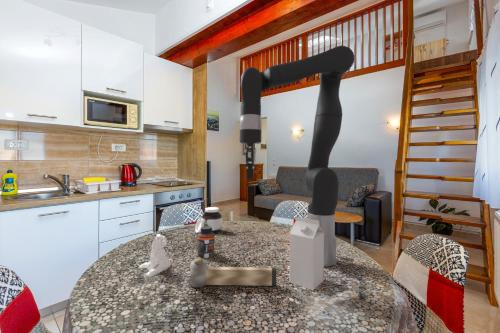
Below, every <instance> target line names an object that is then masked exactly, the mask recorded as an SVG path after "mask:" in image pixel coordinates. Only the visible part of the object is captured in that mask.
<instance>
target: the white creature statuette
mask: <svg viewBox="0 0 500 333" xmlns="http://www.w3.org/2000/svg"><path fill="white" fill-rule="evenodd" d="M167 244H168V240H167V237H166V236H164V235H163V234H159V233H157V234H156V236H155V239H154V240H152V244H151V252H150V253H149V254H150V255H149V257H150V258H149V261H148V262H143V263H142V264H140V265H139V270H142V269H143V270H144V269H146V270H148V272H146V273H145V277H146V278H151V277H155V276H156V275H158V274H160V273H161V272H164V271H167V270H168V268H170V267H171V264H172V263H171V261H170V258H169V257H168V256H167V253H166V250H165V249H164V248H165V247H166V245H167Z"/></svg>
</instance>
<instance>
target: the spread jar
mask: <svg viewBox="0 0 500 333" xmlns="http://www.w3.org/2000/svg"><path fill="white" fill-rule="evenodd" d="M204 210H205V211H204V213H203V214H202V216H201V218H198V219H197V220H196V222H195V226H194V228H195V229H194V230H195V233H197V234H199V233H201V227H203V226H211V227H212V232H213V233H214V234H217V233H218V232H220V231H221V230H222V228H223V216H222V214H221V213H220V209H219V207H216V206H212V207H211V206H210V207H209V206H208V207H205V208H204Z"/></svg>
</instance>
